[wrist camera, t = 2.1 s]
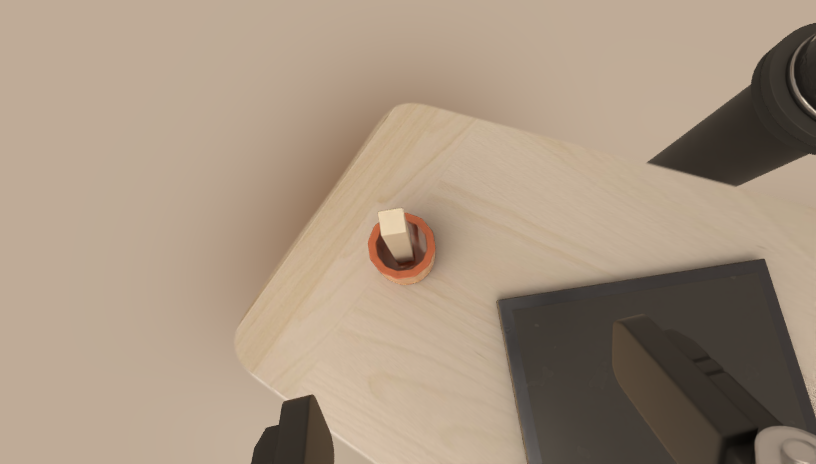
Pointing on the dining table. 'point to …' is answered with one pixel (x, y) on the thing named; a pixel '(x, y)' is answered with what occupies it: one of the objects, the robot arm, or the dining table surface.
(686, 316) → the tablet
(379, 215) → the stylus
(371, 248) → the pen pot
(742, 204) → the dining table surface
